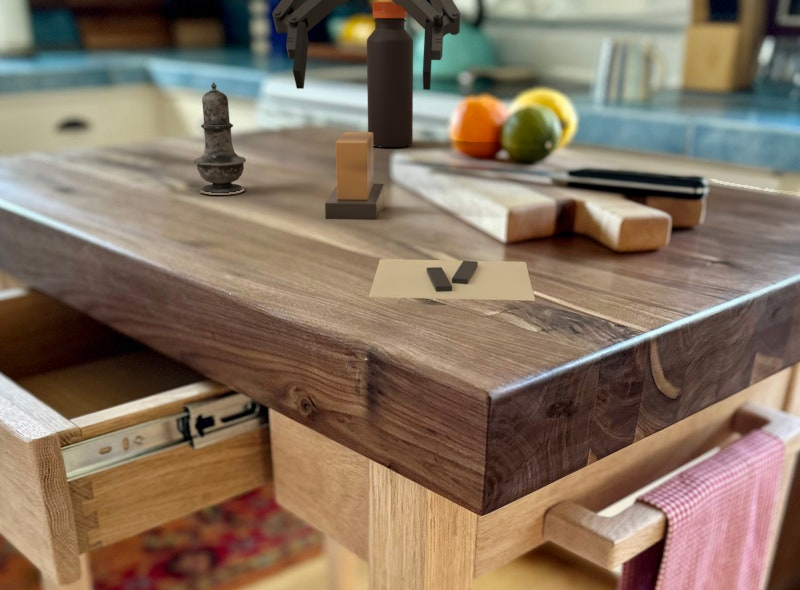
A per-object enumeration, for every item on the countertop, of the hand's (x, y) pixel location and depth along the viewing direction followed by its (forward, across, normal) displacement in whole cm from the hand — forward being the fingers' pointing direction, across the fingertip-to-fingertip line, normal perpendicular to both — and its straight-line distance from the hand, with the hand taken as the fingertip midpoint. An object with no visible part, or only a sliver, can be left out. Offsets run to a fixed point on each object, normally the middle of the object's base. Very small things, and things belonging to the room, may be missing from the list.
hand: (362, 80), depth 92 cm
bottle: (-19, 0, -37) cm, 42 cm away
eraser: (+15, 0, -3) cm, 15 cm away
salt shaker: (+6, +17, -12) cm, 22 cm away
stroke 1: (+32, -9, +15) cm, 36 cm away
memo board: (+32, -10, +14) cm, 36 cm away
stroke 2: (+30, -11, +14) cm, 35 cm away
